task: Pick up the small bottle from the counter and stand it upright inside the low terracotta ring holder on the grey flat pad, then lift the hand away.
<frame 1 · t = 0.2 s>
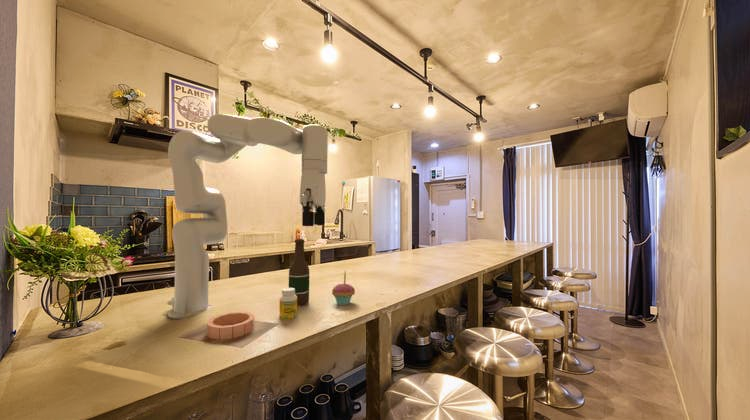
hand: (314, 225, 82), 30 cm above the counter, tool pointing down, fingers open, 9 cm apart
cupcake: (343, 303, 104), on the counter
grey flat pad: (231, 334, 77), on the counter
terracotta holder: (231, 329, 77), resting on grey flat pad
supplement bottle: (288, 320, 88), on the counter
beer bottle: (298, 303, 104), on the counter
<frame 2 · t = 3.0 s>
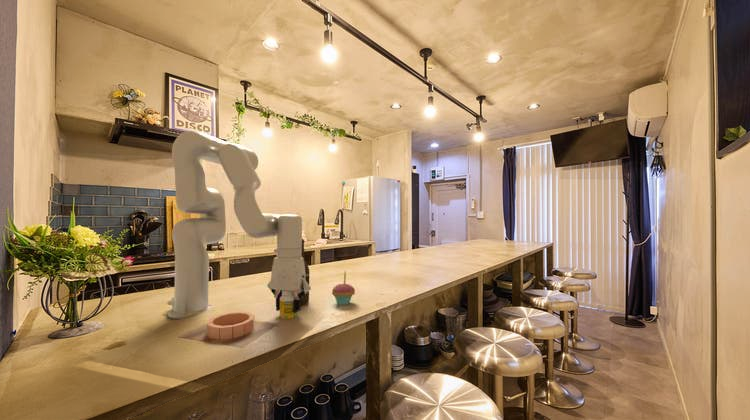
hand: (288, 309, 88), 3 cm above the counter, tool pointing down, fingers closed on supplement bottle, 5 cm apart
supplement bottle: (288, 319, 88), on the counter, touching gripper
everything else where it was.
when the fingers open (5 cm above the counter, at t = 8.6 s): supplement bottle stays where it is, resting on grey flat pad.
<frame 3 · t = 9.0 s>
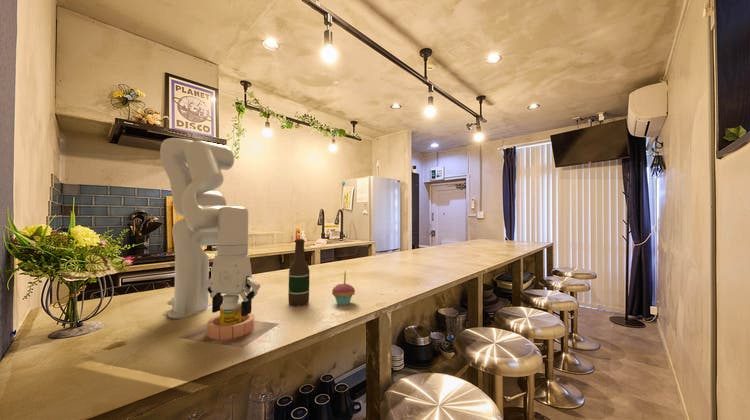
hand: (231, 312, 77), 6 cm above the counter, tool pointing down, fingers open, 9 cm apart
supplement bottle: (230, 330, 77), point 1 cm above the counter, touching grey flat pad
everything else where it was.
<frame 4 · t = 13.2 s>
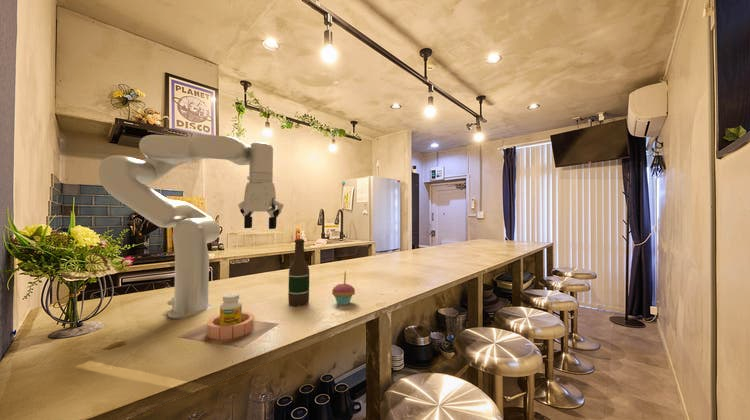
hand: (260, 228, 96), 28 cm above the counter, tool pointing down, fingers open, 9 cm apart
nothing on the counter moved.
at the end: supplement bottle 0.2 cm off-centre on the terracotta holder, point 0.0 cm above the terracotta holder's base; supplement bottle tilted 0°; the gripper is holding nothing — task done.
